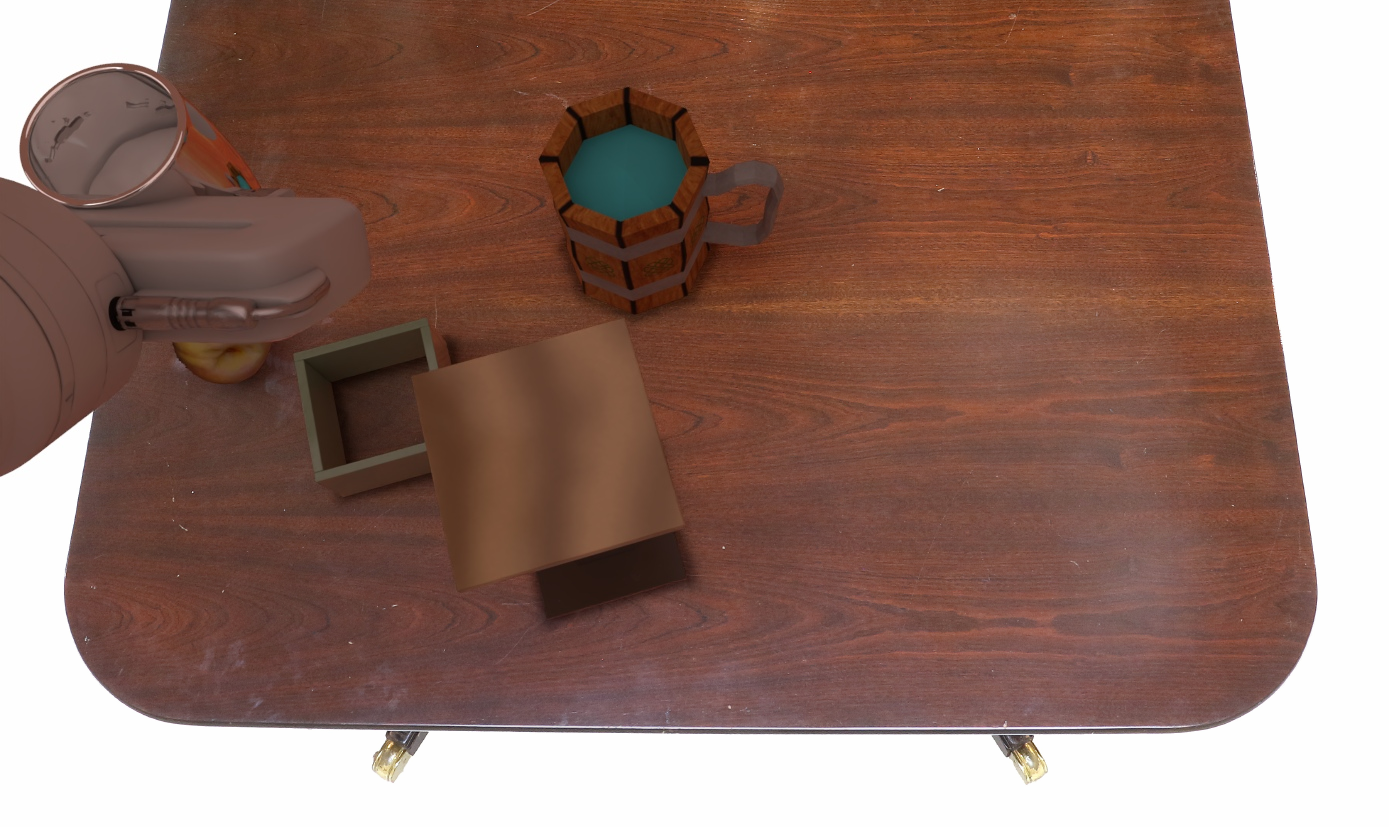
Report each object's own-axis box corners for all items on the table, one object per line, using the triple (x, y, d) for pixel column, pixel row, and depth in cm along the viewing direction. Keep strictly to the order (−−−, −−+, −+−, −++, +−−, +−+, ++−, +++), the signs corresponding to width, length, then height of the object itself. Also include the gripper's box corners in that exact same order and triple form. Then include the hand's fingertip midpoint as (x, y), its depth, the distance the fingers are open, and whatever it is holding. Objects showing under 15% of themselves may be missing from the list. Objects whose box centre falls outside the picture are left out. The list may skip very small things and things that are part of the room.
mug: (561, 313, 86) (531, 236, 71) (570, 183, 90) (544, 85, 75) (775, 317, 85) (788, 240, 71) (775, 186, 89) (787, 88, 75)
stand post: (549, 619, 78) (467, 582, 52) (516, 484, 81) (425, 386, 55) (687, 579, 79) (674, 522, 53) (649, 447, 82) (620, 332, 56)
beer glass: (201, 255, 52) (4, 85, 37) (324, 219, 52) (176, 37, 38) (222, 367, 50) (21, 233, 35) (349, 329, 50) (203, 181, 36)
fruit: (207, 403, 84) (156, 374, 76) (203, 319, 86) (153, 283, 79) (291, 387, 84) (249, 356, 77) (285, 304, 87) (243, 266, 79)
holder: (343, 497, 81) (315, 482, 76) (321, 376, 85) (292, 353, 79) (473, 460, 82) (455, 442, 76) (446, 342, 85) (427, 316, 80)
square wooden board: (461, 593, 52) (456, 591, 51) (415, 381, 56) (410, 375, 55) (685, 528, 53) (685, 525, 52) (626, 323, 56) (624, 316, 55)
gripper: (271, 228, 29) (407, 136, 41) (-361, 219, 30) (-44, 132, 42) (309, 407, 32) (425, 272, 44) (-266, 396, 33) (5, 266, 45)
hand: (194, 204), depth 43 cm, fingers closed on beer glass, 7 cm apart
